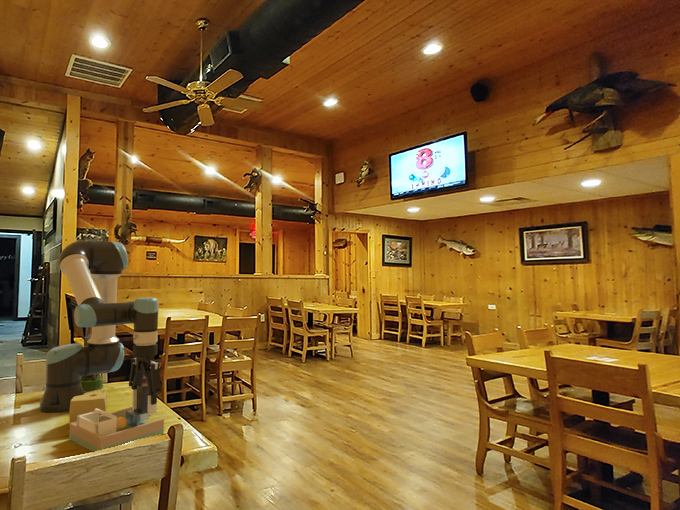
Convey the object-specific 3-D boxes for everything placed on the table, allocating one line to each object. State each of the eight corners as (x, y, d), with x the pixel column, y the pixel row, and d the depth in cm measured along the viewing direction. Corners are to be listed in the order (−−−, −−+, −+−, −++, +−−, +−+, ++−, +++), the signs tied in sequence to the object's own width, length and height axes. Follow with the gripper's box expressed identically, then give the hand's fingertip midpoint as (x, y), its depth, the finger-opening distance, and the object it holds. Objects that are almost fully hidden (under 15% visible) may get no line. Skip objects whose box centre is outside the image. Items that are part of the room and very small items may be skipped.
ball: (111, 430, 141) (111, 417, 141) (123, 426, 145) (123, 414, 145) (117, 433, 139) (117, 420, 139) (129, 429, 142) (130, 416, 142)
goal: (76, 435, 137) (77, 413, 137) (96, 429, 142) (97, 408, 142) (95, 445, 130) (96, 421, 130) (116, 438, 135) (116, 416, 135)
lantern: (109, 388, 196) (111, 320, 197) (84, 393, 188) (86, 323, 189) (94, 383, 205) (95, 318, 205) (69, 388, 196) (71, 320, 197)
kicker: (125, 423, 147) (126, 386, 147) (143, 417, 152) (143, 382, 152) (136, 427, 143) (137, 389, 143) (154, 422, 148) (155, 385, 148)
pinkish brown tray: (69, 439, 139) (69, 423, 139) (131, 421, 155) (131, 407, 155) (100, 455, 127) (100, 438, 127) (163, 434, 143) (163, 419, 143)
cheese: (73, 421, 155) (74, 392, 155) (108, 417, 159) (108, 389, 159) (68, 431, 145) (69, 401, 145) (105, 427, 149) (105, 397, 150)
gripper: (118, 341, 152) (116, 407, 152) (152, 348, 140) (151, 420, 139) (139, 339, 158) (137, 402, 158) (173, 345, 146) (172, 414, 145)
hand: (144, 411), depth 148 cm, fingers open, 9 cm apart
